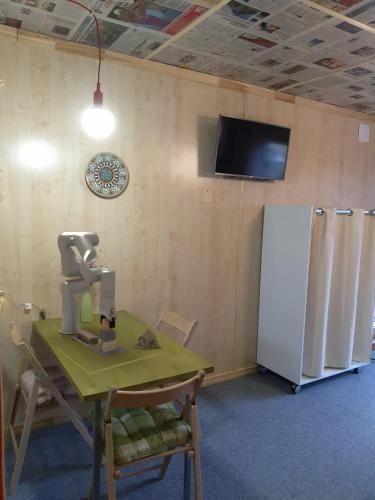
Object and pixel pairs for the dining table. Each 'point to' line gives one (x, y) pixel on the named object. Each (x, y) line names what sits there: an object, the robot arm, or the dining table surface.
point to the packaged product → (86, 337)
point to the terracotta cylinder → (106, 325)
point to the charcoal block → (107, 336)
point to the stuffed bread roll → (147, 340)
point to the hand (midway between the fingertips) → (107, 325)
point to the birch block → (107, 345)
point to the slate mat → (102, 353)
